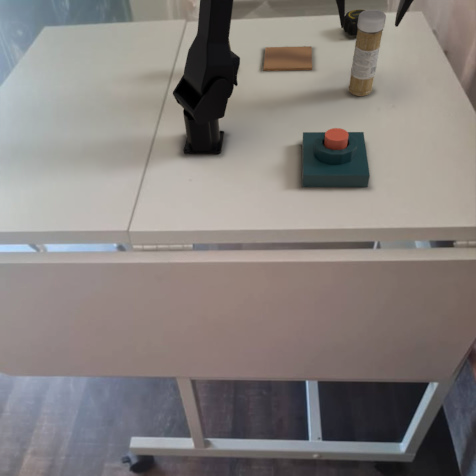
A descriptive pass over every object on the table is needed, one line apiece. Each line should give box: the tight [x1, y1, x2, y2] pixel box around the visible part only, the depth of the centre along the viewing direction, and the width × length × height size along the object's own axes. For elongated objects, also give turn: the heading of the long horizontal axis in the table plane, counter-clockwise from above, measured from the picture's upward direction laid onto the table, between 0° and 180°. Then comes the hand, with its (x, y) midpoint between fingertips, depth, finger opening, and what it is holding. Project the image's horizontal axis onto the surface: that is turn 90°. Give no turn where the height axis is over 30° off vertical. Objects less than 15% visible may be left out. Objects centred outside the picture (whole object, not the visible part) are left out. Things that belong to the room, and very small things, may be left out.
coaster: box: [262, 46, 313, 72], centre depth 102 cm, size 10×10×1 cm
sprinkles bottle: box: [348, 8, 387, 97], centre depth 86 cm, size 5×5×14 cm
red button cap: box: [324, 127, 349, 150], centre depth 74 cm, size 4×4×2 cm
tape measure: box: [342, 9, 366, 37], centre depth 107 cm, size 7×7×4 cm
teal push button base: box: [301, 131, 371, 188], centre depth 76 cm, size 12×10×4 cm
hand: (369, 26), depth 83 cm, fingers open, 9 cm apart
